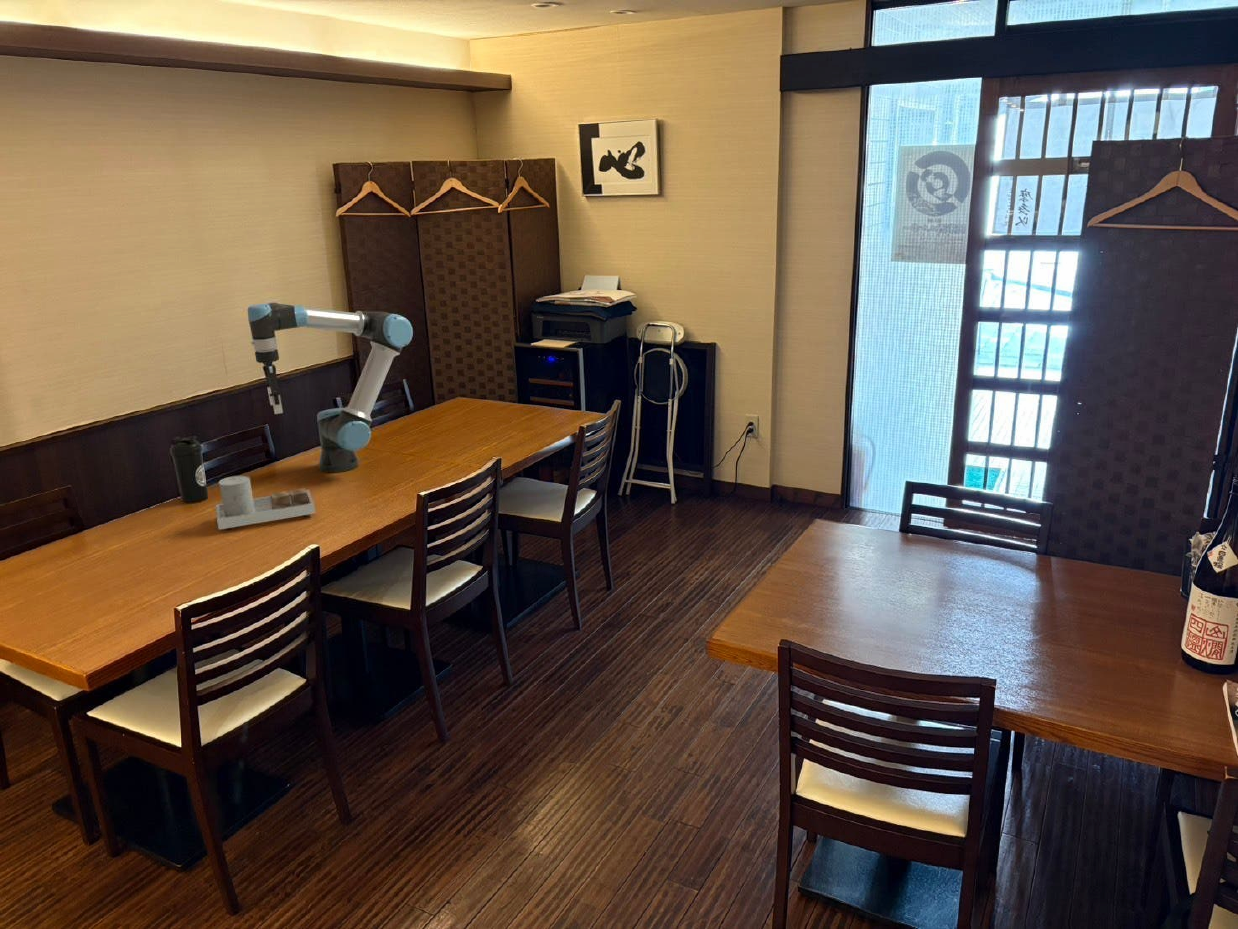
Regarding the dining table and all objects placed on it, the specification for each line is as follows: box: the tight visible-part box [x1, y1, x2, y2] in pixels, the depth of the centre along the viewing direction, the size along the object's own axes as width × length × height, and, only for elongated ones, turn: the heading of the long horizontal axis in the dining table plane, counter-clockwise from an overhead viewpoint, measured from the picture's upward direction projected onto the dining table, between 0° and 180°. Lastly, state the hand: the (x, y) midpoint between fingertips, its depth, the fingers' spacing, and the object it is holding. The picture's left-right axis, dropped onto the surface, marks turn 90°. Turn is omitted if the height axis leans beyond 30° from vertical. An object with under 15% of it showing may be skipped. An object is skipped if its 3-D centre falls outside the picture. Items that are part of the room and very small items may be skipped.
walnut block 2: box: [289, 488, 308, 506], centre depth 305 cm, size 5×5×5 cm
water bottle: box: [169, 435, 209, 505], centre depth 318 cm, size 10×10×23 cm
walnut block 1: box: [269, 490, 291, 509], centre depth 303 cm, size 5×5×5 cm
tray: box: [215, 489, 316, 531], centre depth 302 cm, size 30×15×5 cm, turn 114°
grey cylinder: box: [218, 475, 255, 517], centre depth 297 cm, size 10×10×12 cm
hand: (276, 408), depth 318 cm, fingers open, 13 cm apart
